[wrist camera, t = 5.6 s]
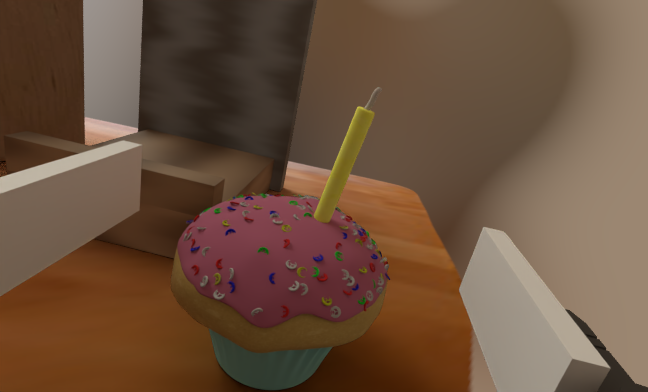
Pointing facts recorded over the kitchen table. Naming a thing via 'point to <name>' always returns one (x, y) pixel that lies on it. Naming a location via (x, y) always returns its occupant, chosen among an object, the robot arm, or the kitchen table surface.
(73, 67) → the wooden block
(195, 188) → the wooden bookend
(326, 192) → the cupcake
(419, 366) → the kitchen table surface
